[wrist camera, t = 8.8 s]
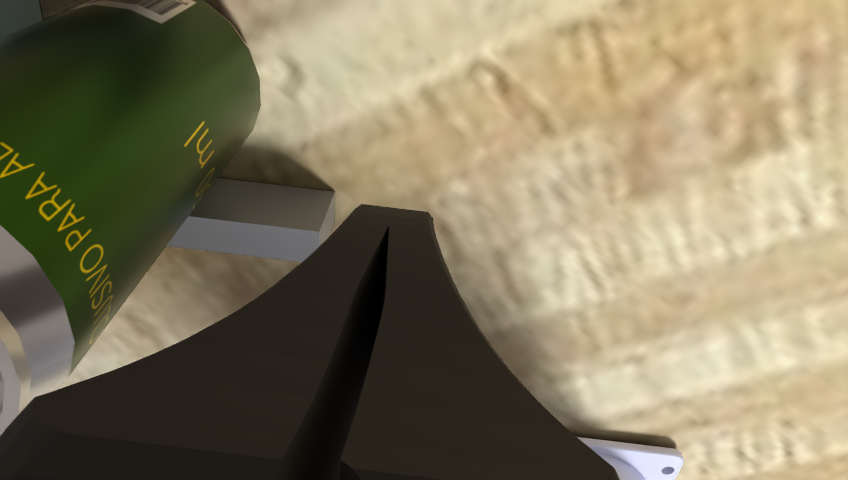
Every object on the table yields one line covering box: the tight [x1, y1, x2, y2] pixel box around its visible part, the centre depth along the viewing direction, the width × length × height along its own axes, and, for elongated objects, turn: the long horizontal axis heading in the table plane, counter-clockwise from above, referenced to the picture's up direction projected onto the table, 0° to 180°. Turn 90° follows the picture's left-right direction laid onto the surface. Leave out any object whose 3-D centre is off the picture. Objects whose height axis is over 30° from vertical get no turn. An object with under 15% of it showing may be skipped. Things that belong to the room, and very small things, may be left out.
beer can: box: [0, 0, 261, 436], centre depth 14 cm, size 5×5×12 cm
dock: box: [0, 0, 335, 262], centre depth 18 cm, size 10×10×2 cm
